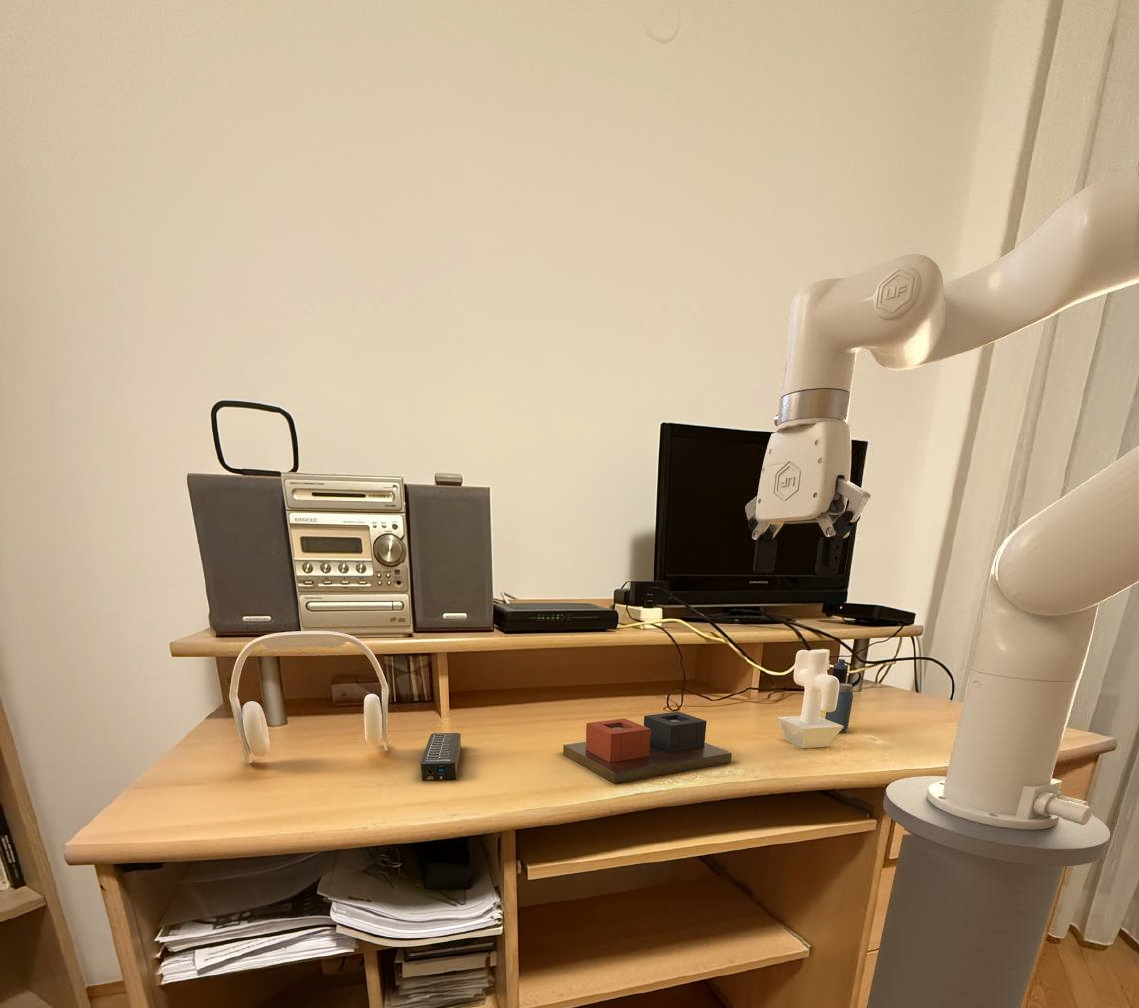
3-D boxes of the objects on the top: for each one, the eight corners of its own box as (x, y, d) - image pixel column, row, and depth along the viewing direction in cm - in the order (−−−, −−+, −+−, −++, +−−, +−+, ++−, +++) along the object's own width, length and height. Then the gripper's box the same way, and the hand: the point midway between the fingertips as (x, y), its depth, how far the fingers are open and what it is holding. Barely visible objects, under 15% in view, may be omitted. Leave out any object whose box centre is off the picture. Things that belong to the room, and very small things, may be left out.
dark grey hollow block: (704, 747, 88) (706, 720, 87) (669, 753, 85) (671, 725, 84) (676, 736, 94) (678, 711, 92) (642, 741, 91) (644, 715, 89)
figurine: (804, 753, 91) (819, 654, 87) (769, 736, 100) (781, 645, 95) (845, 750, 93) (861, 653, 88) (807, 734, 102) (820, 645, 97)
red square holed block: (649, 756, 84) (650, 728, 82) (609, 762, 81) (611, 734, 79) (623, 744, 89) (624, 718, 88) (585, 749, 86) (586, 722, 85)
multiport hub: (461, 747, 91) (460, 732, 91) (456, 779, 78) (455, 763, 77) (431, 747, 91) (430, 733, 90) (421, 780, 77) (420, 763, 76)
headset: (237, 774, 78) (214, 636, 73) (244, 758, 84) (223, 629, 79) (395, 760, 85) (385, 632, 79) (391, 746, 91) (381, 626, 86)
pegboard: (731, 762, 86) (734, 729, 85) (614, 784, 77) (616, 747, 76) (670, 738, 98) (672, 708, 96) (563, 754, 89) (563, 721, 87)
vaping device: (834, 725, 108) (845, 658, 104) (849, 733, 103) (861, 663, 99) (821, 725, 108) (831, 658, 104) (835, 733, 103) (846, 663, 99)
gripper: (733, 426, 74) (721, 572, 79) (857, 394, 60) (832, 574, 65) (777, 433, 77) (762, 572, 83) (904, 404, 63) (876, 575, 68)
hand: (792, 573), depth 74 cm, fingers open, 9 cm apart
